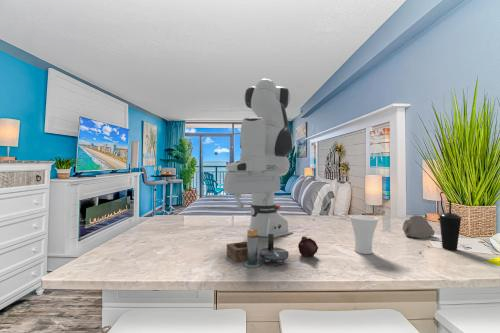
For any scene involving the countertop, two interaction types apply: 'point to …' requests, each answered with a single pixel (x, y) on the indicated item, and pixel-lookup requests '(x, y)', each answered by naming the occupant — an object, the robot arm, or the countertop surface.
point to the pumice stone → (417, 227)
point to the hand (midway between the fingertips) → (253, 206)
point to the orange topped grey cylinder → (252, 246)
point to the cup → (363, 232)
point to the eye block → (237, 251)
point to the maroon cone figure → (307, 247)
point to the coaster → (252, 265)
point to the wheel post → (274, 262)
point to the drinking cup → (450, 229)
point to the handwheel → (273, 251)
